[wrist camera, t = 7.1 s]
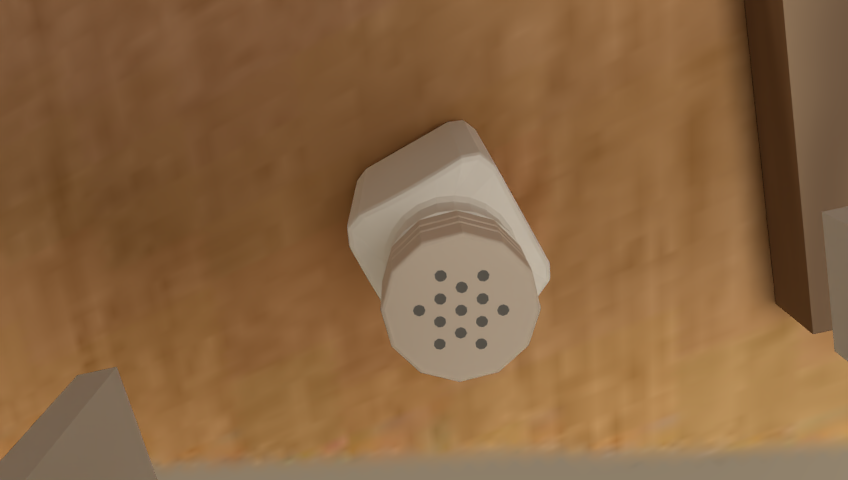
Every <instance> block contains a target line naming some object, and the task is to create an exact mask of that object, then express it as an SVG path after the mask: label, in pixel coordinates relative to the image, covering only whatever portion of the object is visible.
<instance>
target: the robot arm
mask: <svg viewBox="0 0 848 480" xmlns="http://www.w3.org/2000/svg"><path fill="white" fill-rule="evenodd" d="M822 218H823V229H824V240H825V251H826V262H827V273H828V283H829V294H830V305H831V316H832V327H833V338H834V349H835V352H837V353H838V354H839V355H840V356H842V357H843V358H844V359H845V360H847V361H848V206H847V207H843V208H838V209H833V210H829V211H824V212H822ZM0 480H157V477H156V475H155V472H154V469H153V466H152V463H151V461H150V458H149V455H148V452H147V450H146V447H145V444H144V441H143V438H142V436H141V433H140V430H139V427H138V425H137V422H136V419H135V416H134V413H133V411H132V408H131V405H130V402H129V400H128V397H127V394H126V391H125V388H124V386H123V383H122V380H121V377H120V375H119V372H118V369H117V367H113V368H109V369H104V370H100V371H95V372H91V373H86V374H81V375H77V376H76V377H75V378H74V379H73V381H72V382H71V383H70V384H69V385H68V386H67V387H66V388H65V390H64V391H63V392H62V393H61V394H60V395H59V396H58V397H57V398H56V400H55V401H54V402H53V403H52V404H51V405H50V406H49V407H48V408H47V410H46V411H45V412H44V413H43V414H42V415H41V416H40V417H39V419H38V420H37V421H36V422H35V423H34V424H33V425H32V426H31V427H30V429H29V430H28V431H27V432H26V433H25V434H24V435H23V436H22V438H21V439H20V440H19V441H18V442H17V443H16V444H15V445H14V446H13V448H12V449H11V450H10V451H9V452H8V453H7V454H6V455H5V456H4V458H3V459H2V460H1V461H0Z"/></svg>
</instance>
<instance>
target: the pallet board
mask: <svg viewBox="0 0 848 480" xmlns="http://www.w3.org/2000/svg"><path fill="white" fill-rule="evenodd" d="M744 2H745V12H746V22H747V31H748V41H749V50H750V60H751V69H752V79H753V89H754V98H755V108H756V117H757V127H758V136H759V146H760V156H761V165H762V175H763V184H764V194H765V203H766V213H767V223H768V232H769V242H770V251H771V261H772V270H773V280H774V290H775V299H776V304H777V305H778V306H779V307H781V308H782V309H783V310H784V311H785V312H787V313H788V314H789V315H790V316H792V317H793V318H794V319H795V320H796V321H798V322H799V323H800V324H801V325H803V326H804V327H805V328H806V329H807V330H809V331H810V332H811V333H812V334H816V333H821V332H826V331H830V330H833V327H832V316H831V305H830V294H829V283H828V273H827V262H826V251H825V240H824V229H823V218H822V212H824V211H829V210H833V209H838V208H843V207H847V206H848V0H744Z"/></svg>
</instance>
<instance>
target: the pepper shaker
mask: <svg viewBox="0 0 848 480" xmlns="http://www.w3.org/2000/svg"><path fill="white" fill-rule="evenodd" d="M347 232H348V240H349V247H350V249H351V251H352V252H353V254H354V256H355V258H356V259H357V261H358V263H359V265H360V266H361V268H362V270H363V272H364V273H365V275H366V277H367V278H368V280H369V282H370V283H371V285H372V287H373V288H374V290H375V292H376V293H377V295H378V297H379V298H380V300H381V313H382V316H383V319H384V323H385V326H386V329H387V333H388V336H389V339H390V343H391V346H392V347H393V348H394V349H395V350H396V351H397V352H398V353H399V354H401V355H402V356H403V357H404V358H405V359H406V360H407V361H408V362H409V363H411V364H412V365H413V366H414V367H415V368H416V369H417V370H418V371H419V372H420V373H424V374H429V375H433V376H437V377H441V378H446V379H450V380H454V381H458V382H461V381H465V380H469V379H473V378H477V377H481V376H485V375H489V374H493V373H497V372H499V371H500V370H502V369H503V368H504V367H505V366H506V365H507V364H508V363H509V362H510V361H512V360H513V359H514V358H515V357H516V356H517V355H518V354H519V353H521V352H522V351H523V350H524V349H525V348H526V347H527V346H528V345H529V343H530V340H531V337H532V334H533V331H534V328H535V325H536V322H537V319H538V316H539V313H540V310H541V306H540V302H539V298H538V296H539V295H540V293H541V292H542V290H543V289H544V287H545V286H546V285H547V283H548V282H549V280H550V262H549V260H548V259H547V257H546V255H545V253H544V251H543V250H542V248H541V246H540V244H539V242H538V240H537V239H536V237H535V235H534V233H533V231H532V230H531V228H530V226H529V224H528V222H527V221H526V219H525V217H524V215H523V213H522V212H521V210H520V208H519V206H518V204H517V202H516V201H515V199H514V197H513V195H512V193H511V192H510V190H509V188H508V186H507V184H506V183H505V181H504V179H503V177H502V175H501V174H500V172H499V170H498V168H497V166H496V165H495V163H494V161H493V159H492V158H491V156H490V154H489V152H488V151H487V149H486V147H485V145H484V144H483V142H482V140H481V138H480V137H479V135H478V133H477V131H476V130H475V129H474V128H473V127H472V126H470V125H469V124H468V123H466V122H465V121H464V120H459V121H451V122H447V123H445V124H443V125H442V126H440V127H438V128H436V129H435V130H433V131H431V132H429V133H428V134H426V135H424V136H422V137H421V138H419V139H417V140H415V141H414V142H412V143H410V144H408V145H407V146H405V147H403V148H401V149H400V150H398V151H396V152H394V153H393V154H391V155H389V156H387V157H386V158H384V159H382V160H380V161H379V162H377V163H375V164H373V165H372V166H370V167H368V168H366V170H365V171H364V172H363V174H362V175H361V176H360V177H359V179H358V180H357V184H356V188H355V193H354V197H353V202H352V206H351V211H350V215H349V220H348V224H347Z"/></svg>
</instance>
